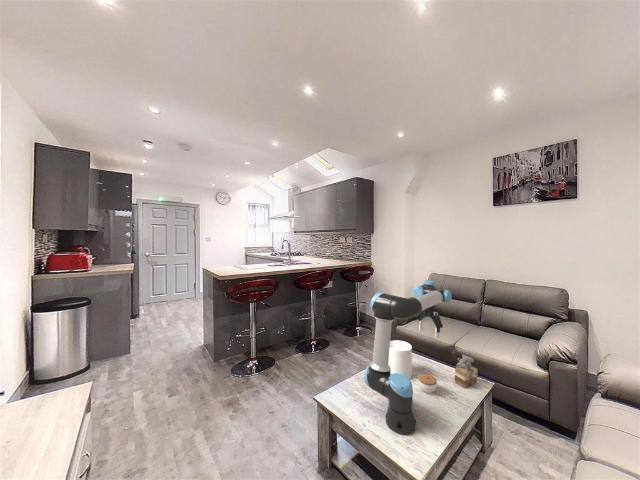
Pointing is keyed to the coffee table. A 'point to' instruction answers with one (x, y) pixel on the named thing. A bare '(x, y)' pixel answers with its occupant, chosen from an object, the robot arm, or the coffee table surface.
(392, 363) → the canister
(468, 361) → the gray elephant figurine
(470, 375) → the light wooden block
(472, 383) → the tower base
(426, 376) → the lidded jar
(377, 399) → the coffee table surface
